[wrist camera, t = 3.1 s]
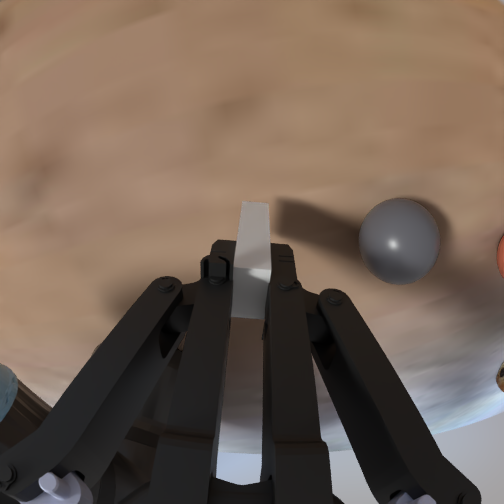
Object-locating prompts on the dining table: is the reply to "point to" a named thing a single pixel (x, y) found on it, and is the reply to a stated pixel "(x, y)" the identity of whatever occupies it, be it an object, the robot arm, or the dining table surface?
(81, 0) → the dining table surface
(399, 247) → the gray ball
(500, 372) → the bread roll
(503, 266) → the red ball
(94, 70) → the dining table surface
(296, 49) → the dining table surface
